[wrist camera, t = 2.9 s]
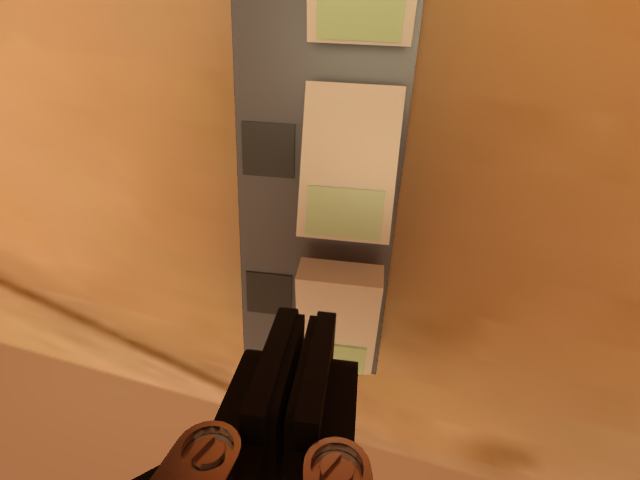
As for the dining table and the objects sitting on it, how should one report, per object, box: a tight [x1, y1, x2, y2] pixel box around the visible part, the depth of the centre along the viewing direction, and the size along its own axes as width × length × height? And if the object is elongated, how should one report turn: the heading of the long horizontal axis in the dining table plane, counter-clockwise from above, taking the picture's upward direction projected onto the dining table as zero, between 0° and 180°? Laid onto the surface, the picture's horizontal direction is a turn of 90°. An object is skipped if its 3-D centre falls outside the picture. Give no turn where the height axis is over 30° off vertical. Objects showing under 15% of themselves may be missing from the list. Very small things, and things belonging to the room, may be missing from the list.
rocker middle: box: [296, 81, 406, 245], centre depth 22 cm, size 5×8×2 cm, turn 177°
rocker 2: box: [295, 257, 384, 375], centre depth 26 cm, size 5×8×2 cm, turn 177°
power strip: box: [231, 0, 424, 374], centre depth 24 cm, size 10×40×5 cm, turn 177°
